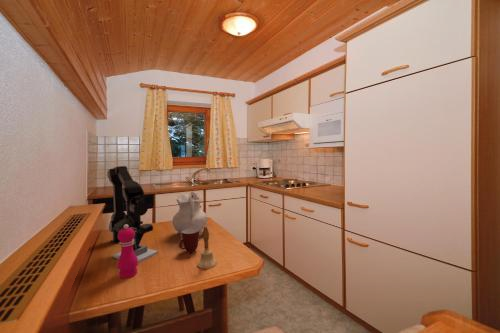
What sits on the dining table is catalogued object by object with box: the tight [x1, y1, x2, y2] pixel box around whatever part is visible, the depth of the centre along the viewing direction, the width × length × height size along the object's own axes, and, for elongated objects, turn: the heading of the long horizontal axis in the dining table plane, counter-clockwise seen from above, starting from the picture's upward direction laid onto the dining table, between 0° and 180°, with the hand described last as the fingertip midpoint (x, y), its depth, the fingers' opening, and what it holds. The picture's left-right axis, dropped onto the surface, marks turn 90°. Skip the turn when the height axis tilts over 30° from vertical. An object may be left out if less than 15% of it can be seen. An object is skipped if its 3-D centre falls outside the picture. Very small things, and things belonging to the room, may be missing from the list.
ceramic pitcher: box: [172, 191, 208, 238], centre depth 135 cm, size 22×20×25 cm
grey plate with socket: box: [112, 244, 159, 264], centre depth 110 cm, size 16×12×4 cm
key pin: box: [133, 230, 140, 250], centre depth 110 cm, size 3×3×8 cm
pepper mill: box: [116, 224, 139, 279], centre depth 92 cm, size 7×7×20 cm
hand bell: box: [196, 226, 218, 270], centre depth 100 cm, size 8×8×16 cm
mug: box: [178, 228, 200, 254], centre depth 112 cm, size 10×8×10 cm
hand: (135, 244), depth 110 cm, fingers closed on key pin, 3 cm apart
